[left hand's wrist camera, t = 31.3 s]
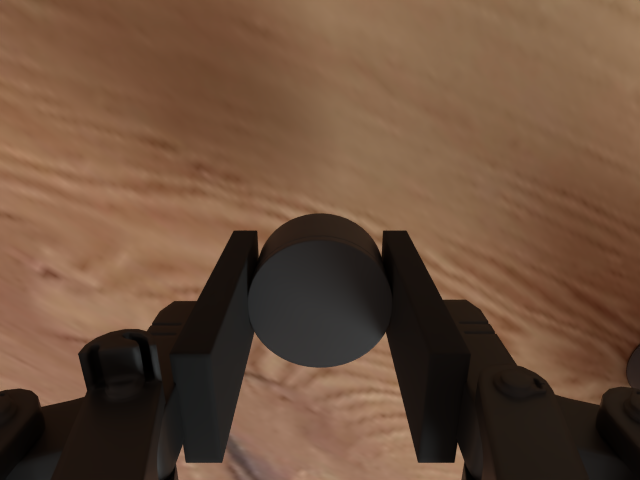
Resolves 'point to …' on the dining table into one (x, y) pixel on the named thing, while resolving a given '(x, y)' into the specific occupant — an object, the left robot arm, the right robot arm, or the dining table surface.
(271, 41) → the dining table surface
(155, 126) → the dining table surface
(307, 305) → the cap
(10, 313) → the dining table surface
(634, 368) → the bottle
